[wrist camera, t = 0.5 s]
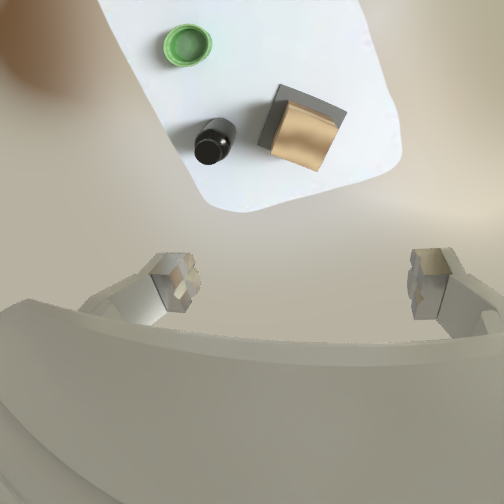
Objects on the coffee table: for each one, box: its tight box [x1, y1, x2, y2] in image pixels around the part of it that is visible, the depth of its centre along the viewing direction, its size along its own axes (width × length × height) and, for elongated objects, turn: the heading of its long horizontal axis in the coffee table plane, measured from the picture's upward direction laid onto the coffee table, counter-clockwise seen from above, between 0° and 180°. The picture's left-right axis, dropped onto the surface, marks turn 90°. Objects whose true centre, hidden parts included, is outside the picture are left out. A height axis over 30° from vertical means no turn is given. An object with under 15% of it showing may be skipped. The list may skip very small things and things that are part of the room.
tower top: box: [271, 104, 338, 172], centre depth 47 cm, size 9×9×4 cm
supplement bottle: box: [194, 118, 236, 165], centre depth 50 cm, size 7×7×12 cm
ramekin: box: [163, 24, 212, 67], centre depth 41 cm, size 9×9×4 cm
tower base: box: [272, 100, 334, 144], centre depth 50 cm, size 9×9×4 cm
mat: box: [258, 84, 347, 168], centre depth 52 cm, size 14×14×1 cm
